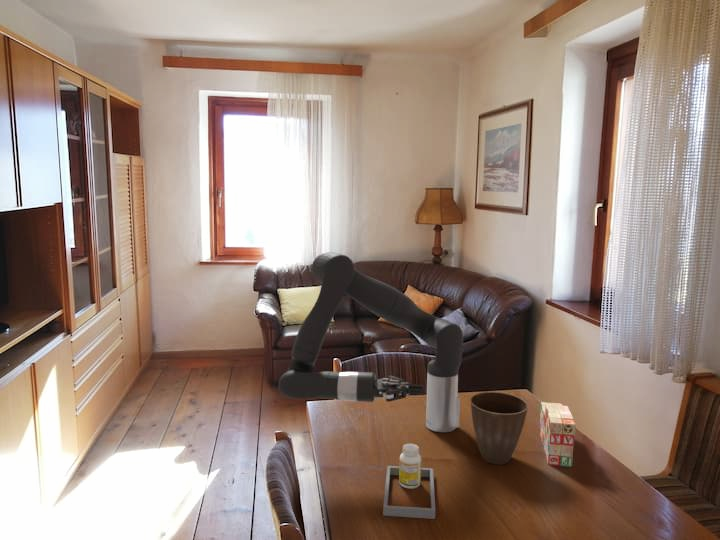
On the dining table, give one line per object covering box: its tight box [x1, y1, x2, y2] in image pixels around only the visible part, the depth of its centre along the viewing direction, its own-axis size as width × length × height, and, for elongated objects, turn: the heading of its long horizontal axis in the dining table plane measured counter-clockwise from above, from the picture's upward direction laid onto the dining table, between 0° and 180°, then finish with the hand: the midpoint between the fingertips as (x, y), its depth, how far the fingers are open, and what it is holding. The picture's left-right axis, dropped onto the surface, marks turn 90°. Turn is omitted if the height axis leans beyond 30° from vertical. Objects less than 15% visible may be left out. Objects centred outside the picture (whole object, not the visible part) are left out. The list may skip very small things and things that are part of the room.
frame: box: [382, 465, 436, 520], centre depth 133 cm, size 19×12×2 cm, turn 174°
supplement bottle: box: [398, 443, 422, 490], centre depth 137 cm, size 5×5×10 cm
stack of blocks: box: [539, 401, 576, 468], centre depth 157 cm, size 21×6×12 cm, turn 168°
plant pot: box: [470, 391, 529, 465], centre depth 150 cm, size 15×15×16 cm
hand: (423, 389), depth 142 cm, fingers closed
